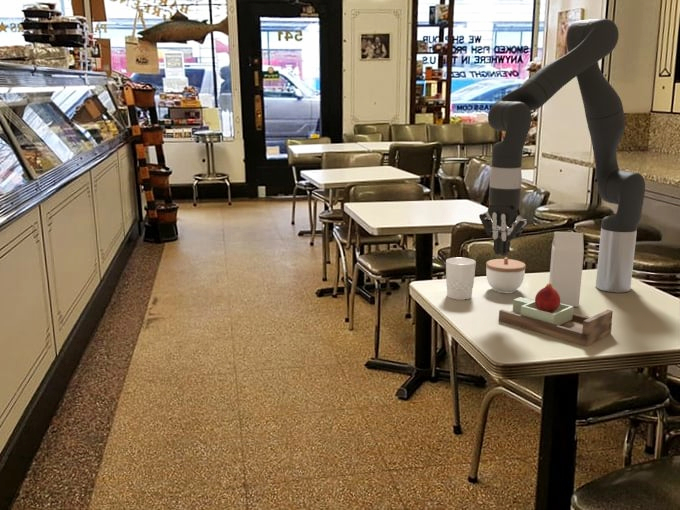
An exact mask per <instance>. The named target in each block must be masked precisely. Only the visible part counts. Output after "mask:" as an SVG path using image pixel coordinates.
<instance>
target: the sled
mask: <svg viewBox="0 0 680 510" xmlns="http://www.w3.org/2000/svg"><path fill="white" fill-rule="evenodd" d="M512 301H513V303H512V311H513V312H515V313H518V314H520V315H523V316H527V317H530V318H534V319H538V320H541V321H545V322H548V323H552V324H556V325H561V324H563V323H565V322H568V321H570V320H572V319H573V313H574V307H575V306H569V305H565V304H561V303H560V306H559V308H558V309H557V310H556V311H555V312H553V313H549V312H545V311H542V310H538V309H537V307H536V305H535V300H532V299H529V298H525V297H521V296H520V297H517V298H514V299H513V300H512Z"/></svg>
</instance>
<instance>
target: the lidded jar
mask: <svg viewBox="0 0 680 510" xmlns="http://www.w3.org/2000/svg"><path fill="white" fill-rule="evenodd" d="M485 264H486V265H485V266H486V270H485V273H486V280H487V283H488V285H489V286H490V287H491V289H494V290H495V291H494V290H493V291H494V292H496V291H498V292H497V293H499V292H513V293H515V292H516V291H517V290H518V289H519V288H520V287H521V286H522V284H523V282H524V278H525V274H526V273H525V272H526V269H527V268H526V264H525V262H523V261H520V260H516V259H512V258H510V259H509V257H504V258H495V259H490V260H487V261H486V263H485ZM514 291H515V292H514Z"/></svg>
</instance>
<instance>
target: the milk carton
mask: <svg viewBox="0 0 680 510" xmlns="http://www.w3.org/2000/svg"><path fill="white" fill-rule="evenodd" d="M553 234H554V236H553V239H552V243H551V253H550V266H549V267H550V268H549V280H548V283H550V284H552V288H553V289H555V290H556V291H557V293H558V294H559V296H560V303H561V304H565V305H569V306H573V307H575V308H576V307H577V308H579V307H580V300H581V299H580V296H581V289H582V288H581V287H582V276H583V275H582V273H583V265H584V263H583V262H584V254H585V253H584V252H585V249H584V248H585V246H584V232H571V231H570V232H566V231H562V232H561V231H554V233H553Z"/></svg>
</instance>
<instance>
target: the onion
mask: <svg viewBox="0 0 680 510" xmlns="http://www.w3.org/2000/svg"><path fill="white" fill-rule="evenodd" d="M534 301H535V305H536V307H537V309H538V310H542V311H545V312H549V313H553V312H555V311H556V310H557V309H558V308H559V306H560V296H559V294H558V293H557V291H556V290H555V289H553V288H552V284H550V283H549V282H548V283H547V284H546V285H545V286H544V287H542V288H541V289H539V291H538V292H537V293H536V295H535V299H534Z"/></svg>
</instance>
